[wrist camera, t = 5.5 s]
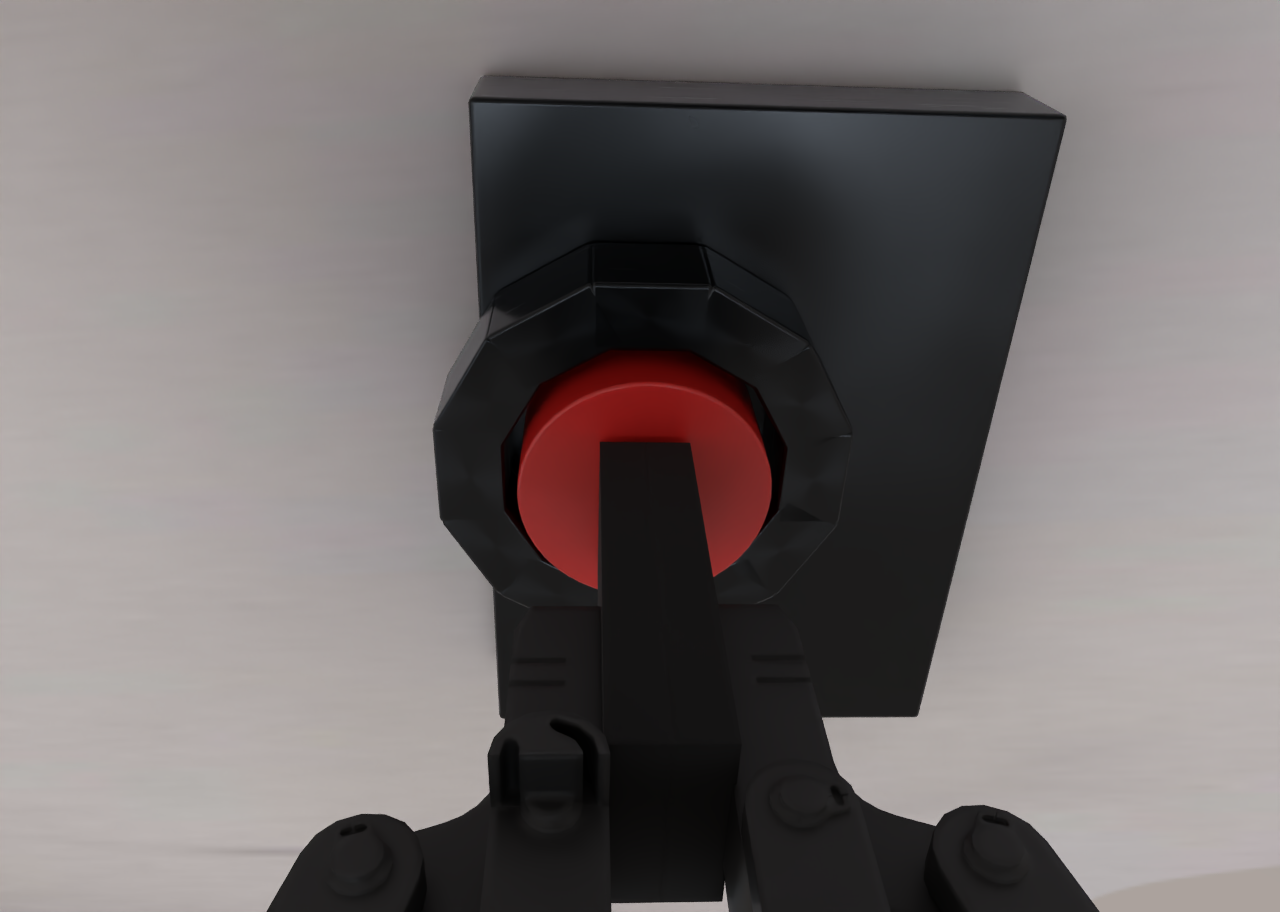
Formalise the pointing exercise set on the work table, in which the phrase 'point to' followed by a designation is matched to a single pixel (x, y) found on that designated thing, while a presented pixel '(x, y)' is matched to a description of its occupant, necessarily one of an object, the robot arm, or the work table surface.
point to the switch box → (760, 327)
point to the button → (640, 412)
